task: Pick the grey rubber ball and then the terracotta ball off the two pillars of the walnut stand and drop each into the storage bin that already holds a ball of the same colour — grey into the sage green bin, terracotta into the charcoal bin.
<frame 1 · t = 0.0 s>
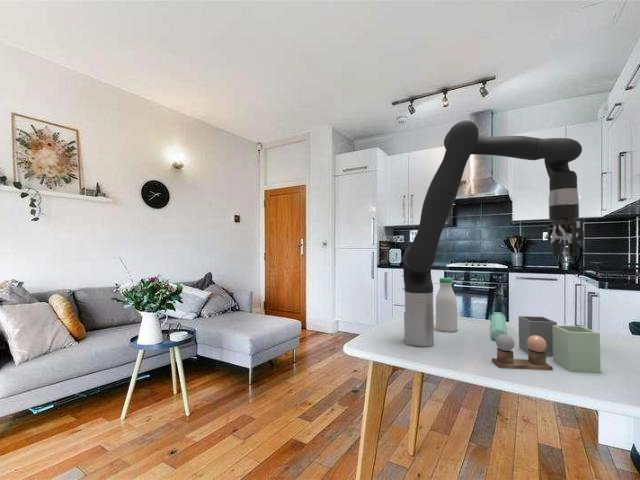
hand: (564, 255, 100), 29 cm above the table, tool pointing down, fingers open, 8 cm apart
grey ball: (504, 342, 86), point 6 cm above the table, touching rack
terracotta ball 2: (537, 344, 96), point 2 cm above the table
container: (498, 333, 117), on the table
pair of storage bins: (554, 358, 90), on the table
grey ball 2: (575, 358, 84), point 2 cm above the table
milk bottle: (446, 330, 122), on the table
rack: (521, 365, 85), on the table
terracotta ball: (536, 343, 85), point 6 cm above the table, touching rack
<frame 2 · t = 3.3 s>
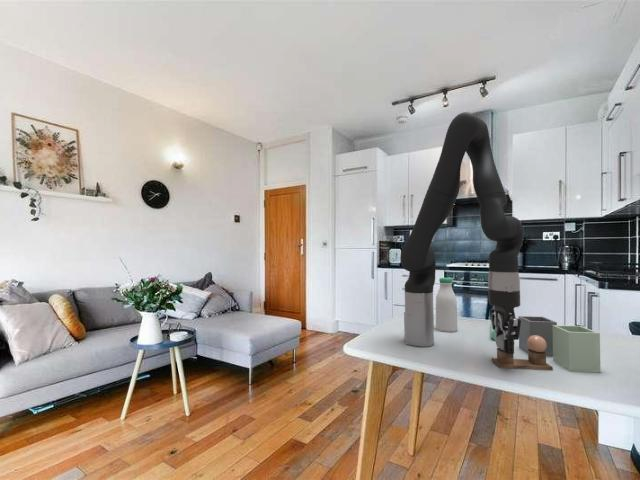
hand: (505, 350, 86), 4 cm above the table, tool pointing down, fingers closed on grey ball, 4 cm apart
grey ball: (504, 342, 86), point 6 cm above the table, touching gripper, rack
everything else where it was.
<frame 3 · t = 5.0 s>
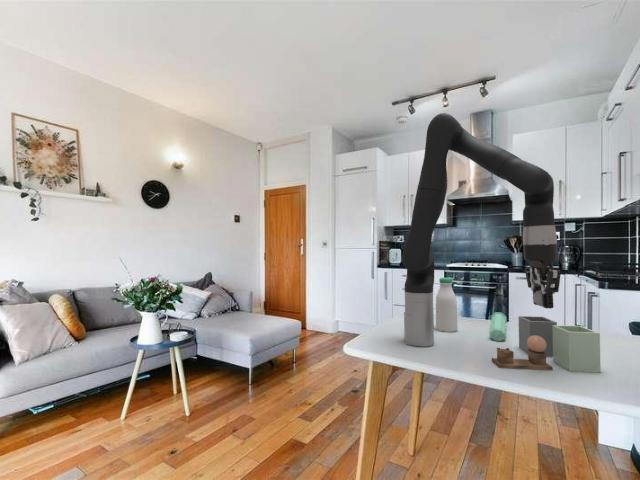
hand: (543, 306, 85), 16 cm above the table, tool pointing down, fingers closed on grey ball, 4 cm apart
grey ball: (542, 298, 85), point 18 cm above the table, touching gripper
everything else where it was.
when the fingers open (11 cm above the table, at t = 6.6 s): grey ball drops 7 cm and tips over, resting on grey ball 2, pair of storage bins.
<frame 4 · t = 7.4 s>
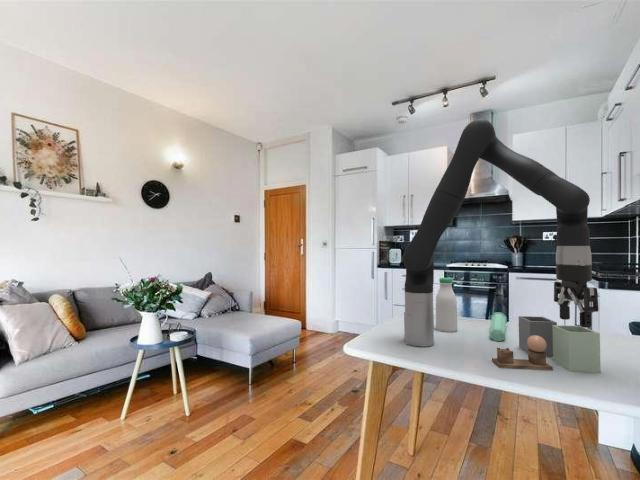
hand: (574, 323, 84), 12 cm above the table, tool pointing down, fingers open, 8 cm apart
grey ball: (574, 342, 85), point 6 cm above the table, tilted 63°, touching grey ball 2, pair of storage bins
grey ball 2: (577, 359, 84), point 2 cm above the table, tilted 21°, touching grey ball, pair of storage bins
everything else where it was.
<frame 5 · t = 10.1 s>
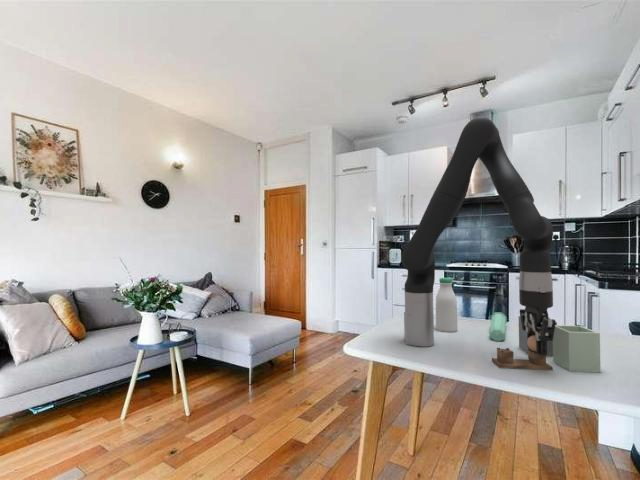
hand: (536, 351, 85), 4 cm above the table, tool pointing down, fingers closed on terracotta ball, 4 cm apart
terracotta ball: (536, 343, 85), point 6 cm above the table, touching gripper, rack
everything else where it was.
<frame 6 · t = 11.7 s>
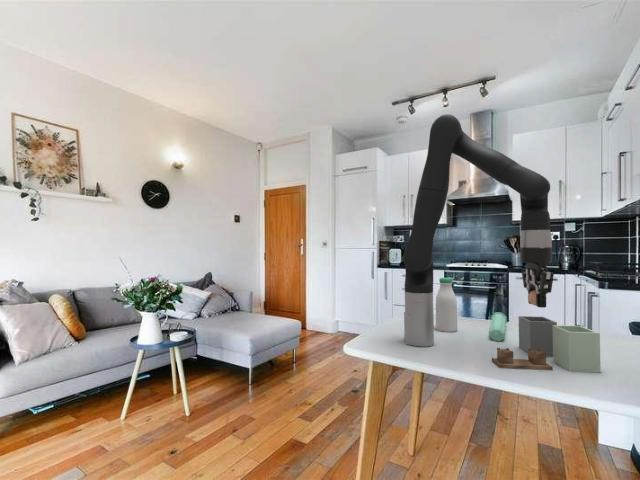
hand: (537, 305, 90), 15 cm above the table, tool pointing down, fingers closed on terracotta ball, 4 cm apart
terracotta ball: (536, 298, 90), point 17 cm above the table, touching gripper
everything else where it was.
when the fingers open (11 cm above the table, at t = 13.2 s): terracotta ball drops 7 cm and tips over, resting on terracotta ball 2, pair of storage bins.
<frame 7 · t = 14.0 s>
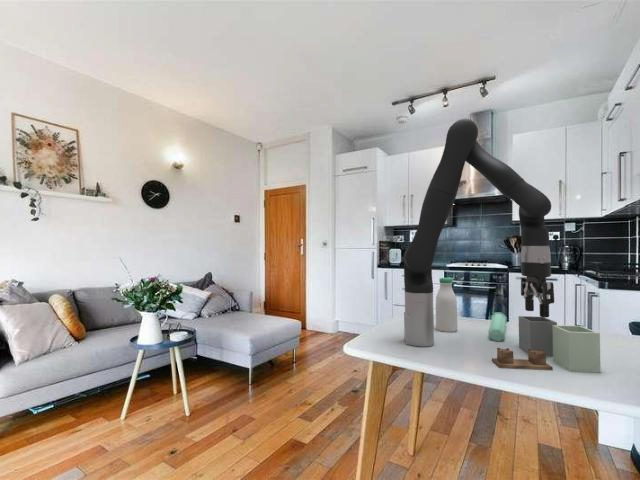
hand: (536, 313, 96), 12 cm above the table, tool pointing down, fingers open, 8 cm apart
terracotta ball 2: (536, 344, 96), point 2 cm above the table, tilted 10°, touching terracotta ball
terracotta ball: (538, 330, 97), point 6 cm above the table, tilted 48°, touching terracotta ball 2, pair of storage bins
everything else where it was.
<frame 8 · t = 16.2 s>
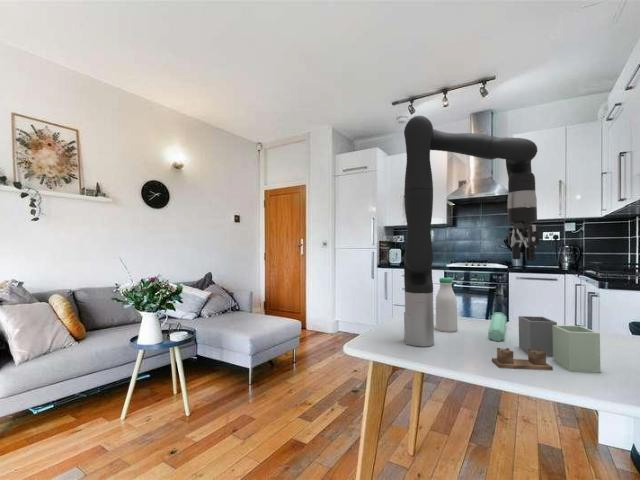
hand: (523, 260, 96), 28 cm above the table, tool pointing down, fingers open, 8 cm apart
nothing on the table moved.
at the end: grey ball 0.9 cm from the target spot on the pair of storage bins, point 6.3 cm above the pair of storage bins's base; terracotta ball 1.1 cm from the target spot on the pair of storage bins, point 6.3 cm above the pair of storage bins's base; the gripper is holding nothing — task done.
